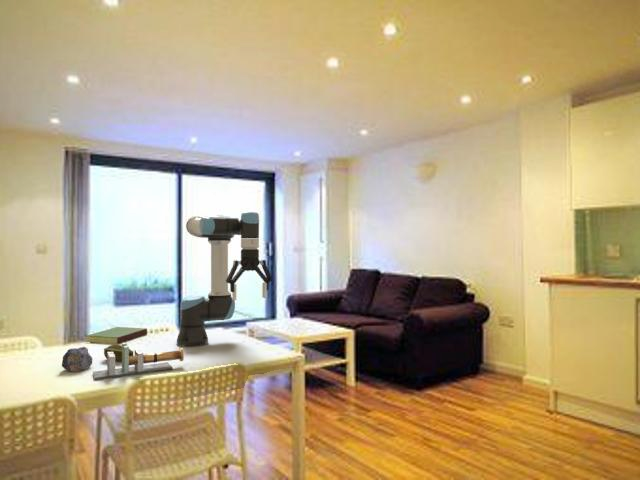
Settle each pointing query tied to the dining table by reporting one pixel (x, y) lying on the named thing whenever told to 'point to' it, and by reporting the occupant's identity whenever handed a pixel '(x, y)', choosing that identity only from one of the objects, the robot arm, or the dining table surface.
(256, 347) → the dining table surface
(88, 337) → the hardcover book
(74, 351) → the rock
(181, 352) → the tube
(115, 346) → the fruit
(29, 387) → the dining table surface
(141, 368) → the collar rail
